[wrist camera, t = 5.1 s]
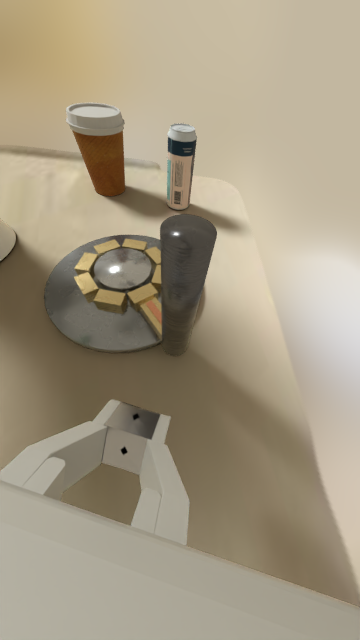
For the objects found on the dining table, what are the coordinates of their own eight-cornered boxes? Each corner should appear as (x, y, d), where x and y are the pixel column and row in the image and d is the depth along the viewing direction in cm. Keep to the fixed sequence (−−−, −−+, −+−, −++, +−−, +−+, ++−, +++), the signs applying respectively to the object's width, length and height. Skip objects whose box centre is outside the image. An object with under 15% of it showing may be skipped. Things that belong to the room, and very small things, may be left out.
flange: (65, 384, 20) (48, 374, 17) (38, 258, 30) (23, 238, 27) (226, 314, 27) (235, 298, 24) (162, 229, 36) (162, 209, 33)
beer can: (193, 207, 41) (203, 130, 31) (176, 214, 39) (180, 134, 29) (179, 197, 43) (184, 121, 32) (161, 203, 41) (161, 124, 31)
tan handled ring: (67, 267, 27) (-7, 131, 15) (141, 240, 31) (129, 118, 19) (135, 384, 19) (91, 295, 8) (221, 328, 24) (280, 214, 12)
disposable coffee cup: (89, 202, 39) (63, 118, 29) (85, 180, 44) (62, 101, 33) (136, 198, 41) (127, 118, 31) (128, 177, 46) (118, 102, 36)
